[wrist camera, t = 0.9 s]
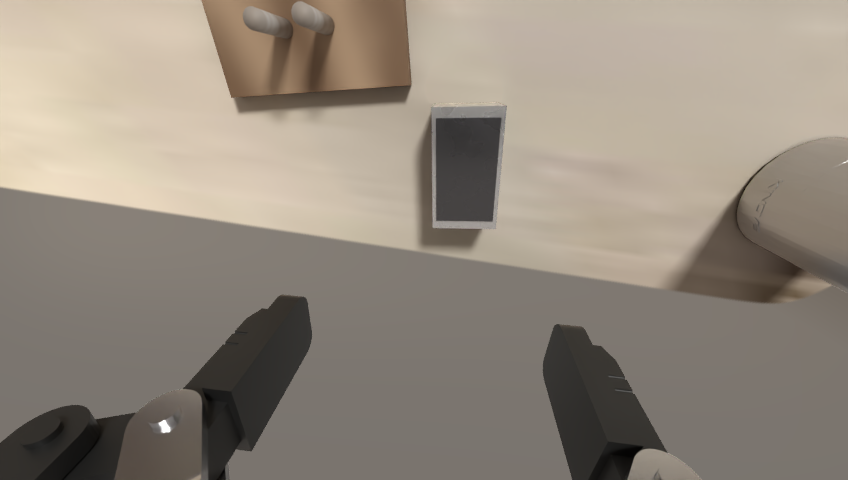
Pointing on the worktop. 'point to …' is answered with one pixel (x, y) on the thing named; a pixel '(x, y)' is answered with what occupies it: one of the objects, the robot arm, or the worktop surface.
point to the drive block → (466, 163)
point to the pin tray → (309, 44)
